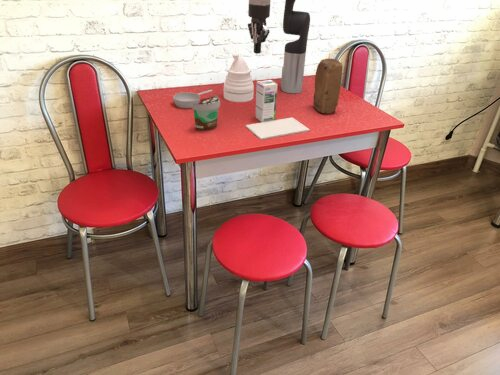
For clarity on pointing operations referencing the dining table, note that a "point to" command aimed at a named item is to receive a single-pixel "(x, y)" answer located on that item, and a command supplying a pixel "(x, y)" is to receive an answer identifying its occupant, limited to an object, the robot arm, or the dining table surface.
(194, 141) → the dining table surface
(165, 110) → the dining table surface
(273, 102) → the syrup box
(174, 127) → the dining table surface
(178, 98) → the saucepan
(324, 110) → the block
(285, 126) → the mat
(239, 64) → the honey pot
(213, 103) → the food container
